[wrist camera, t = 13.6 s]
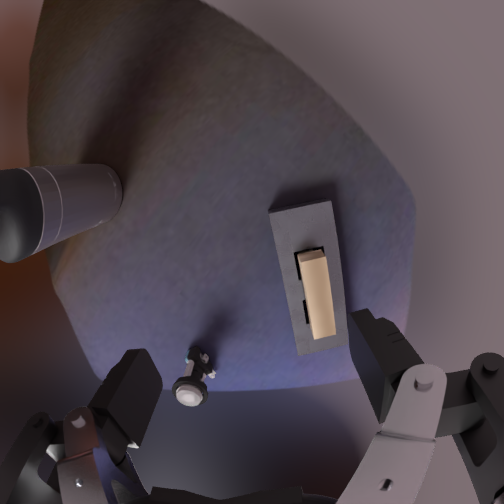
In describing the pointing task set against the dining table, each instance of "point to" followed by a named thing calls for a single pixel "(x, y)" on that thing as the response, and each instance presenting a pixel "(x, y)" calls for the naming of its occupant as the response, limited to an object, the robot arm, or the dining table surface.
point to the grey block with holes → (292, 240)
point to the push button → (193, 379)
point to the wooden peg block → (317, 292)
